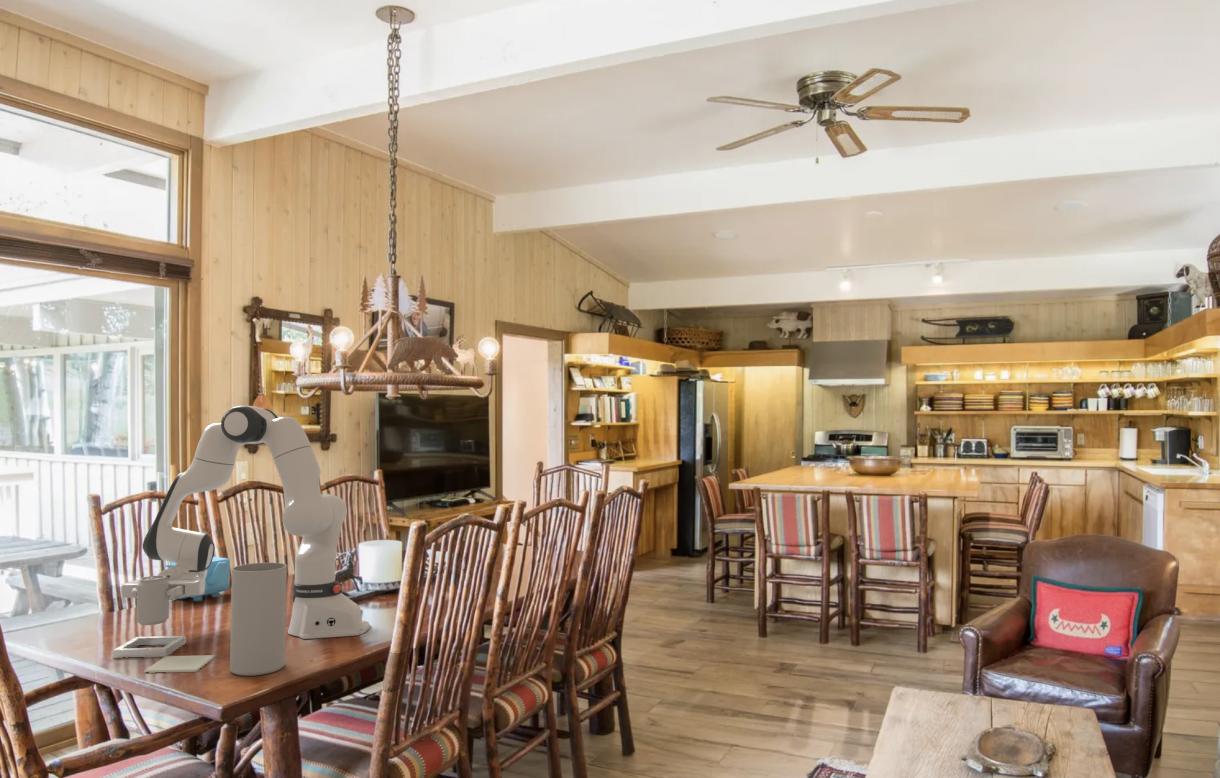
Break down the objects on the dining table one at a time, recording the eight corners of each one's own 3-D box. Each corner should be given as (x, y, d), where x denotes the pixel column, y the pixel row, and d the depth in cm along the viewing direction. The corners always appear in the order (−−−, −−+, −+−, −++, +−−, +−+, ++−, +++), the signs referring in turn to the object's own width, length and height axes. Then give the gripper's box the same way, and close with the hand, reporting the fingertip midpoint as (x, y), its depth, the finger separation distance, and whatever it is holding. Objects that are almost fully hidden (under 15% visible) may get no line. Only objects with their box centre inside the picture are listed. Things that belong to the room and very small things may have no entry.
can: (154, 626, 216) (154, 580, 217) (129, 625, 218) (130, 579, 218) (175, 619, 224) (175, 574, 224) (150, 618, 225) (151, 574, 226)
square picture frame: (185, 643, 228) (186, 635, 228) (165, 656, 215) (166, 649, 215) (135, 644, 226) (135, 636, 226) (112, 658, 213) (112, 650, 214)
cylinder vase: (281, 659, 214) (283, 561, 215) (287, 672, 203) (289, 569, 204) (228, 665, 208) (230, 564, 209) (231, 679, 197) (233, 573, 198)
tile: (214, 657, 215) (214, 655, 215) (196, 671, 203) (196, 669, 203) (165, 658, 213) (165, 656, 213) (144, 673, 202) (144, 670, 202)
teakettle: (231, 590, 296) (232, 548, 297) (226, 601, 279) (227, 557, 279) (172, 593, 290) (173, 551, 291) (162, 605, 272) (163, 560, 273)
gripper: (133, 573, 233) (109, 583, 219) (210, 570, 235) (191, 580, 221) (133, 596, 233) (109, 607, 219) (210, 593, 235) (191, 604, 221)
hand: (151, 594), depth 220 cm, fingers closed on can, 7 cm apart
